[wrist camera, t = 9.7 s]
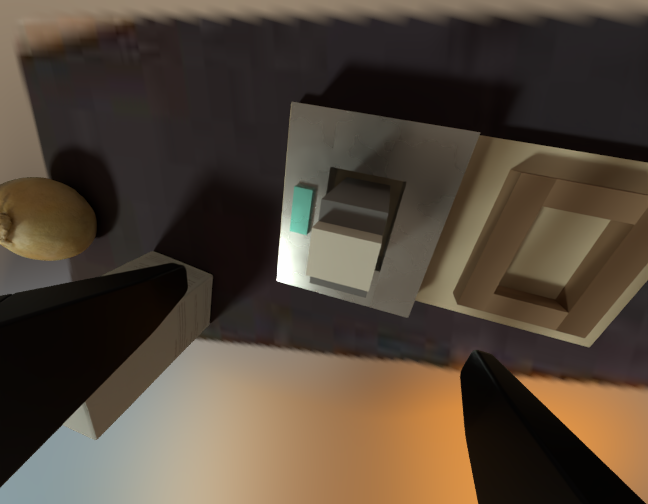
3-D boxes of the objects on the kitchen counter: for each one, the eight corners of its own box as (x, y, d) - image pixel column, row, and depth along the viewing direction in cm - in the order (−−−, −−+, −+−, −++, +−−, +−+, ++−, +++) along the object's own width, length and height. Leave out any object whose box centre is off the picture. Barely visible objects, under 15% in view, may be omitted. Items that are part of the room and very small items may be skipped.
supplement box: (151, 248, 26) (-28, 331, 15) (215, 274, 25) (76, 381, 14) (154, 302, 30) (9, 402, 18) (210, 326, 29) (95, 446, 18)
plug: (390, 185, 17) (387, 219, 10) (374, 245, 19) (363, 309, 12) (347, 176, 17) (315, 204, 10) (336, 236, 19) (303, 293, 12)
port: (467, 132, 15) (482, 132, 12) (406, 297, 20) (408, 321, 18) (305, 106, 16) (289, 100, 14) (288, 266, 22) (274, 283, 19)
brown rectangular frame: (667, 197, 14) (696, 204, 12) (570, 323, 18) (585, 338, 16) (510, 169, 15) (521, 172, 14) (452, 292, 19) (457, 304, 18)
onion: (113, 258, 28) (33, 292, 22) (53, 229, 29) (-42, 255, 23) (109, 192, 25) (12, 210, 18) (40, 160, 25) (-77, 168, 19)
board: (713, 174, 14) (736, 177, 13) (580, 337, 19) (589, 347, 18) (296, 105, 17) (291, 104, 16) (282, 258, 23) (277, 263, 22)
